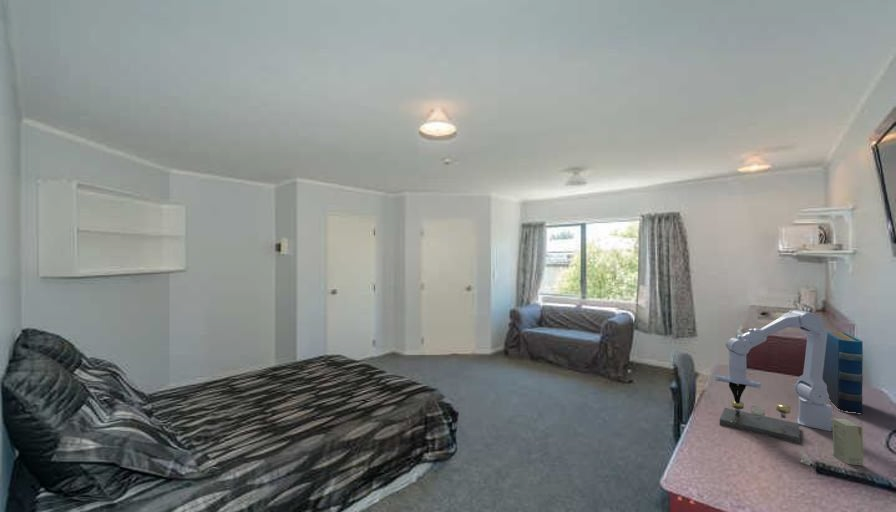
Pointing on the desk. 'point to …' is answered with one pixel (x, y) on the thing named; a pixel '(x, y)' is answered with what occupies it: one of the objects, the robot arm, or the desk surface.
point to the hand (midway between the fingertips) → (737, 402)
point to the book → (844, 371)
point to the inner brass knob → (783, 409)
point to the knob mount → (761, 425)
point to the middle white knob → (758, 412)
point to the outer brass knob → (737, 406)
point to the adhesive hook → (806, 460)
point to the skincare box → (847, 441)
